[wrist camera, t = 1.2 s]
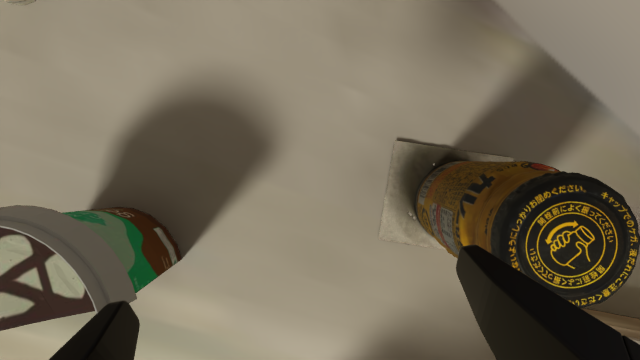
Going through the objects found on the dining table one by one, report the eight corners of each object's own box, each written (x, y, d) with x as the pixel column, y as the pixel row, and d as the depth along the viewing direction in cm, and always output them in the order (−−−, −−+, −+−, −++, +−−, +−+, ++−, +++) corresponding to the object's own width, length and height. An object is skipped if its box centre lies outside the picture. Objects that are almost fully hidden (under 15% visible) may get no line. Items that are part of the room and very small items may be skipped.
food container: (182, 176, 25) (78, 186, 15) (200, 255, 25) (110, 316, 15) (32, 208, 26) (-162, 239, 16) (51, 285, 26) (-128, 361, 16)
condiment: (493, 256, 24) (648, 350, 12) (378, 238, 24) (417, 311, 12) (512, 157, 24) (691, 153, 12) (394, 140, 24) (450, 119, 12)
